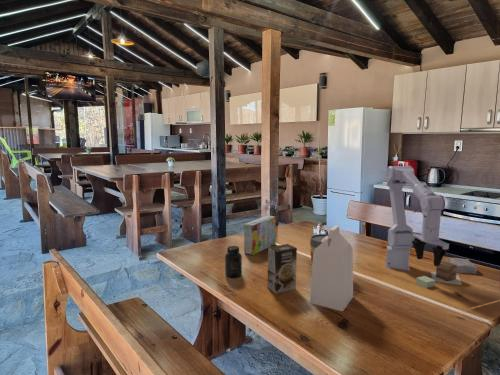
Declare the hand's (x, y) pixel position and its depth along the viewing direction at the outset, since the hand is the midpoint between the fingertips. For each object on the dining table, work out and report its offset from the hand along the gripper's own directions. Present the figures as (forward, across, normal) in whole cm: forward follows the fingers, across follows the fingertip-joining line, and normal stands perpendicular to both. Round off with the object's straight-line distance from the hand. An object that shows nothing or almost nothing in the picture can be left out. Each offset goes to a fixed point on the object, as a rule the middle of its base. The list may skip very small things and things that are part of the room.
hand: (428, 262), depth 132 cm
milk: (+10, +4, +40) cm, 41 cm away
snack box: (+10, +64, +41) cm, 77 cm away
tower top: (+6, +2, -12) cm, 14 cm away
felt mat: (+9, +2, -12) cm, 16 cm away
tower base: (+9, +2, -12) cm, 15 cm away
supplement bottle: (+10, +37, +65) cm, 75 cm away
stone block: (+10, +7, -27) cm, 29 cm away
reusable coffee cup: (+10, +25, +29) cm, 40 cm away
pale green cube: (+10, 0, 0) cm, 10 cm away
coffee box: (+10, +19, +52) cm, 56 cm away
